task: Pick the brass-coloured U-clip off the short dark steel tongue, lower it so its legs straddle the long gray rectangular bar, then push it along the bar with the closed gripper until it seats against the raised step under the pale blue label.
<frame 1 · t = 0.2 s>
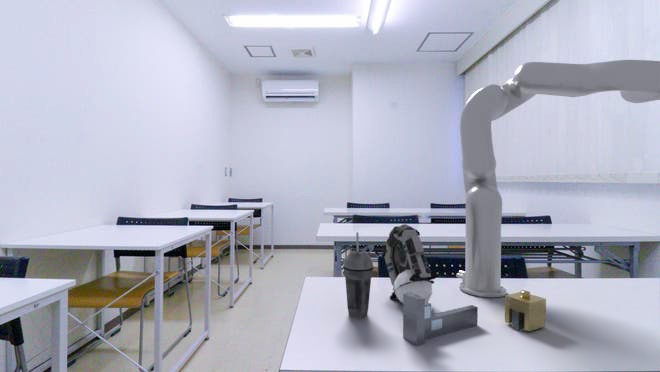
beverage cup: (357, 316, 80), on the table
clip: (525, 323, 75), on the table, touching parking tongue
gray rectangular bar: (449, 330, 72), on the table
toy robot: (405, 301, 91), on the table
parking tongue: (524, 326, 75), on the table
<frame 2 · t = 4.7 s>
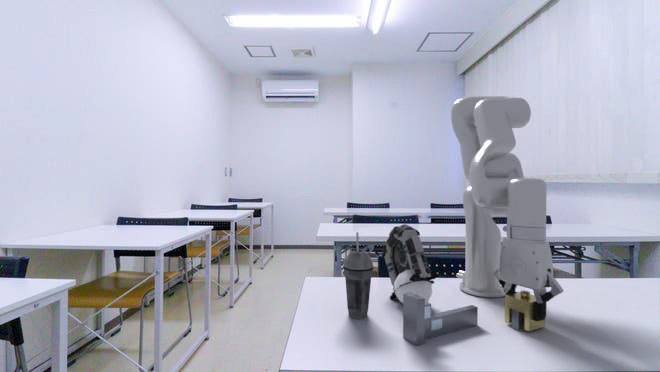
hand: (525, 314, 75), 3 cm above the table, tool pointing down, fingers closed on clip, 5 cm apart
clip: (525, 323, 75), point 1 cm above the table, touching gripper, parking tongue
everything else where it was.
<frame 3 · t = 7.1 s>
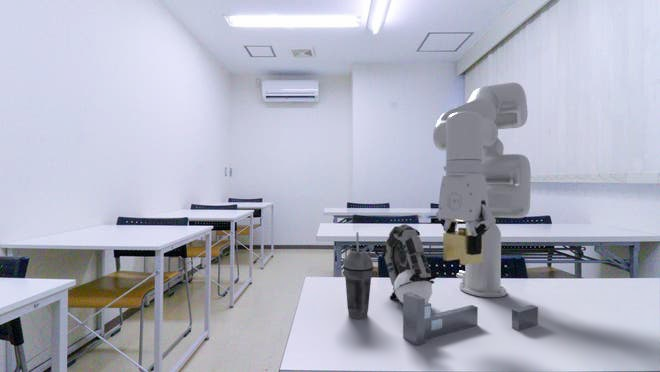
hand: (462, 250, 74), 17 cm above the table, tool pointing down, fingers closed on clip, 5 cm apart
clip: (462, 260, 74), point 15 cm above the table, touching gripper
everything else where it was.
when the fingers open (4 cm above the table, at t = 9.4 s): clip stays where it is, resting on gray rectangular bar.
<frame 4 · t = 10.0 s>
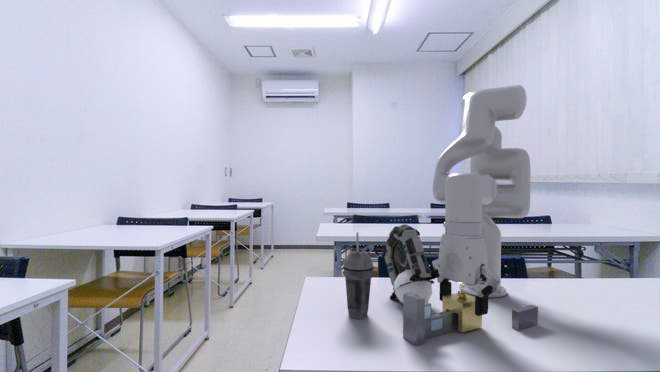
hand: (462, 306, 74), 5 cm above the table, tool pointing down, fingers open, 9 cm apart
clip: (461, 324, 74), resting on gray rectangular bar
everything else where it was.
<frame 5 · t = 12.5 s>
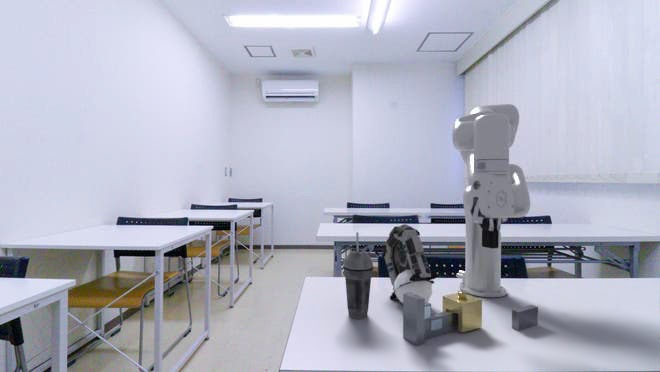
hand: (490, 247, 78), 17 cm above the table, tool pointing down, fingers closed
nothing on the table moved.
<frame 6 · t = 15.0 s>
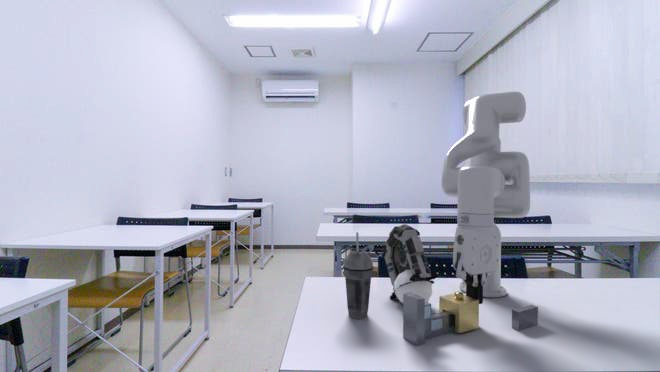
hand: (474, 302, 76), 5 cm above the table, tool pointing down, fingers closed
clip: (458, 325, 74), point 1 cm above the table, touching gripper, gray rectangular bar
everything else where it was.
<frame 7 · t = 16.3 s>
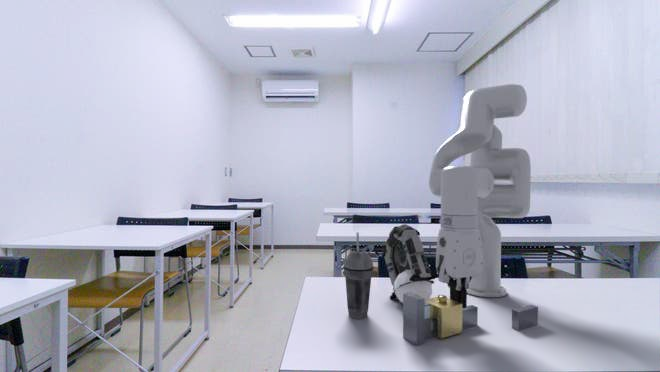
hand: (458, 306, 73), 5 cm above the table, tool pointing down, fingers closed
clip: (441, 330, 71), resting on gray rectangular bar, touching gripper
everything else where it was.
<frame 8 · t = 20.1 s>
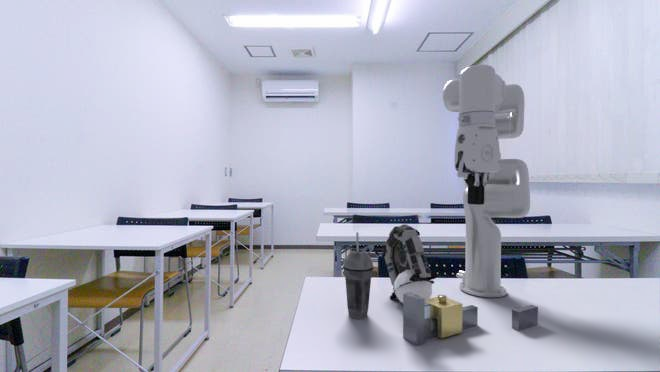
hand: (475, 204, 76), 27 cm above the table, tool pointing down, fingers closed
clip: (441, 330, 71), resting on gray rectangular bar
everything else where it was.
at the end: clip 1.0 cm from the target spot on the gray rectangular bar, point 0.5 cm above the gray rectangular bar's base; clip tilted 0°; the gripper is holding nothing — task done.
